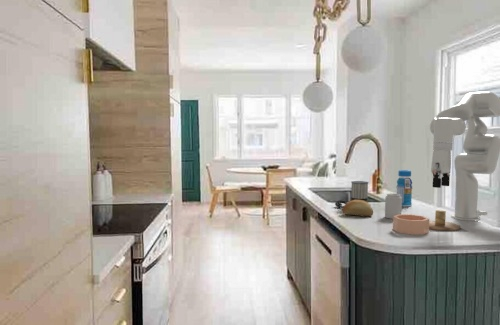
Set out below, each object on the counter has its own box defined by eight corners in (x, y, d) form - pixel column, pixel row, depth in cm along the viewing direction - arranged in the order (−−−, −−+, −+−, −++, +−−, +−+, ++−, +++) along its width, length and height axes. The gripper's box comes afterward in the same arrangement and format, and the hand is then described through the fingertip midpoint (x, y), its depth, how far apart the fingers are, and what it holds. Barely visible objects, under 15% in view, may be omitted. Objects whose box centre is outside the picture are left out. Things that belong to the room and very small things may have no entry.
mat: (449, 223, 190) (449, 222, 190) (468, 232, 173) (468, 231, 173) (413, 223, 190) (413, 222, 190) (430, 232, 173) (430, 231, 173)
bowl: (419, 228, 181) (420, 214, 181) (433, 235, 168) (433, 220, 168) (389, 228, 181) (390, 214, 181) (400, 235, 168) (401, 220, 168)
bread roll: (342, 213, 216) (342, 197, 215) (372, 214, 212) (373, 198, 212) (341, 216, 207) (342, 200, 206) (373, 218, 203) (373, 201, 202)
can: (402, 220, 197) (403, 195, 196) (385, 219, 199) (386, 194, 198) (400, 217, 204) (400, 193, 204) (384, 216, 206) (384, 192, 205)
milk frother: (371, 210, 225) (372, 182, 224) (345, 211, 220) (345, 183, 219) (357, 205, 238) (357, 179, 237) (332, 206, 234) (332, 180, 233)
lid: (449, 223, 190) (450, 207, 189) (468, 231, 174) (468, 214, 173) (414, 222, 190) (414, 207, 189) (429, 231, 174) (430, 214, 173)
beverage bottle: (394, 205, 238) (395, 170, 236) (398, 203, 244) (399, 169, 243) (409, 207, 233) (410, 171, 231) (413, 205, 240) (414, 170, 238)
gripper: (441, 146, 188) (439, 184, 189) (425, 146, 176) (424, 187, 177) (459, 147, 183) (457, 186, 184) (444, 147, 170) (442, 189, 171)
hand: (441, 186), depth 180 cm, fingers open, 9 cm apart
